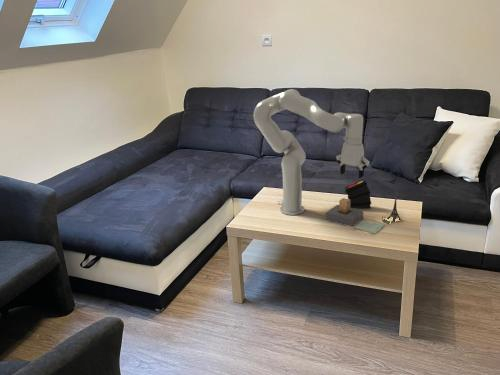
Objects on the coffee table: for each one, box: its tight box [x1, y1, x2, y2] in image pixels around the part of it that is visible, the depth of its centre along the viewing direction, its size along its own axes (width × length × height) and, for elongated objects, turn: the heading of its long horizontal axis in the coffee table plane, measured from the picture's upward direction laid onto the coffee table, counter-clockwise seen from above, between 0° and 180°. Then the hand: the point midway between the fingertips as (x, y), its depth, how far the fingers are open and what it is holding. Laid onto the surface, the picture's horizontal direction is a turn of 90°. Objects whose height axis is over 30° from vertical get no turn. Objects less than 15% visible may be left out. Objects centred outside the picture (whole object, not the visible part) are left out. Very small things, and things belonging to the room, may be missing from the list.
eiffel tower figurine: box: [381, 196, 402, 225], centre depth 206 cm, size 15×10×13 cm
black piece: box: [344, 179, 372, 209], centre depth 222 cm, size 4×13×15 cm, turn 83°
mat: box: [354, 219, 385, 235], centre depth 201 cm, size 10×10×1 cm
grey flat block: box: [325, 204, 364, 227], centre depth 211 cm, size 14×12×4 cm
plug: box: [338, 197, 351, 214], centre depth 210 cm, size 4×4×10 cm
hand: (351, 175), depth 206 cm, fingers open, 9 cm apart
